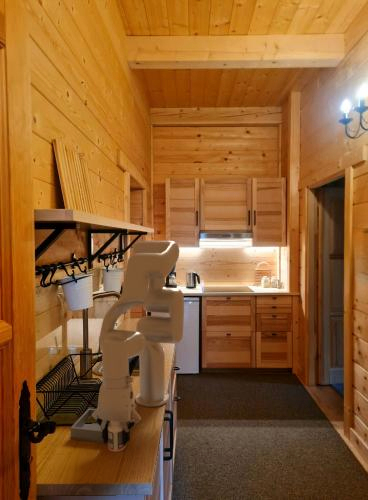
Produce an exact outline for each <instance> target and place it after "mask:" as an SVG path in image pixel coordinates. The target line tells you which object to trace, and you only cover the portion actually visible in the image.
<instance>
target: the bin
mask: <svg viewBox="0 0 368 500" xmlns="http://www.w3.org/2000/svg"><path fill="white" fill-rule="evenodd" d="M96 409H97V408H89V407H88V408H87V410H85V412H84V413H83V414H82V415H81V416H80V417H79V418H78V419H77V420H76V421H75V422H74V423H73V424H72V426H71V427H70V440H75V441H84V442H93V443H102V444H104V443H103V438H102V429H101V428H100V427H101V426H100V425H99V424H98V423H92V424H85V421H86V420H87V419H88V417H89V416H91V415H92V413H93V412H94V411H95V410H96ZM108 424H110V422H109V423H108ZM105 444H108V441H107V442H106V443H105Z"/></svg>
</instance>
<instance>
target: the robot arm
mask: <svg viewBox="0 0 368 500" xmlns="http://www.w3.org/2000/svg"><path fill="white" fill-rule="evenodd" d="M132 248H133V249H132V252H133V254H131V255H130V256H129V258H128V260H127V263H126V264H127V265H126V269H125V275H124V279H123V280H124V281H123V285H122V291H121V295H120V297H119V298H118V299H117V300H116V301H115V302H114V303H113V304H112V305H111V307H110V308H109V309H108V310H107V312H106V314H105V315H104V317H103V319H102V324H101V328H100V332H99V338H98V339H99V340H98V345H99V348H100V351H101V352H102V354H101V358H102V360H101V362H102V365H101V367H102V383H101V384H100V388H99V393H98V400H97V407H96V408H95V409H96V410H95V411H94V412H93V413H92V415H91V416H92V417H93V418H94V419H95V420H96V421H97V423H98V424H99V425H100V426H101V427H100V428H101V429H102V438H103V443H102V444H107V443H106V442H107V441H108V425H109V424H108V422H109V421H117V422H122V424H123V427H124V432H123V445H124V446H126V447H127V444H128V442H130V440H131V429H132V428H133V427H134V426H136V425H137V424H138V423H140V421H141V420H142V417H141V415H140V414H139V413H138V411H137V410H136V404H135V401H136V403H137V404H138V405H140V406H143V407H145V408H146V407H149V408H151V407H152V408H154V407H160V406H162V405H165V404H167V402H168V401H170V394H169V393H168V391H166V368H165V367H166V364H165V363H166V362H165V361H166V360H165V359H166V358H165V356H166V354H165V350H164V348H163V346H162V344H170V345H171V344H173V345H174V344H179V343H181V341H182V340H183V335H184V318H185V317H184V315H185V314H184V313H185V297H184V294H183V292H182V290H181V289H180V288H178V287H177V288H176V287H166V278H167V277H168V276H169V275H170V274H171V272H172V270H173V268H175V265H176V264H177V262H178V260H179V257H180V246H179V244H178V243H177V242H176V241H174V240H140V241H137V242H135V243H134V244H133V247H132ZM139 306H142V309H143V310H144V311H146V312H147V313H148V312H149V313H156V314H157V313H161V314H169V316H158V315H146V316H142V317H141V318H139V319H138V321H137V322H136V330H126V329H115V328H116V324H117V322H118V320H119V318H120V317H121V316H122V315H124V313H126V312H127V311H129V310H131V309H134V308H136V307H139ZM137 356H139V358H138V359H139V360H138V361H139V362H138V363H139V366H138V367H139V392H138V393H137V394H136V395H134V389H133V384H132V383H134V377H131V376H130V364H129V363H130V362H129V360H130V359H133V358H135V357H137ZM131 417H132V418H133V419H132V420H131Z"/></svg>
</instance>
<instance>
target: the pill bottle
mask: <svg viewBox="0 0 368 500" xmlns="http://www.w3.org/2000/svg"><path fill="white" fill-rule="evenodd" d="M123 432H124V427H123V424H122V422H117V421H110V424H109V425H108V443H107V448H108V450H109V451H111V452H114V453H116V452H121V451H123V450H124V449H126V447H127V445H126V446H124V445H123Z"/></svg>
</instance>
